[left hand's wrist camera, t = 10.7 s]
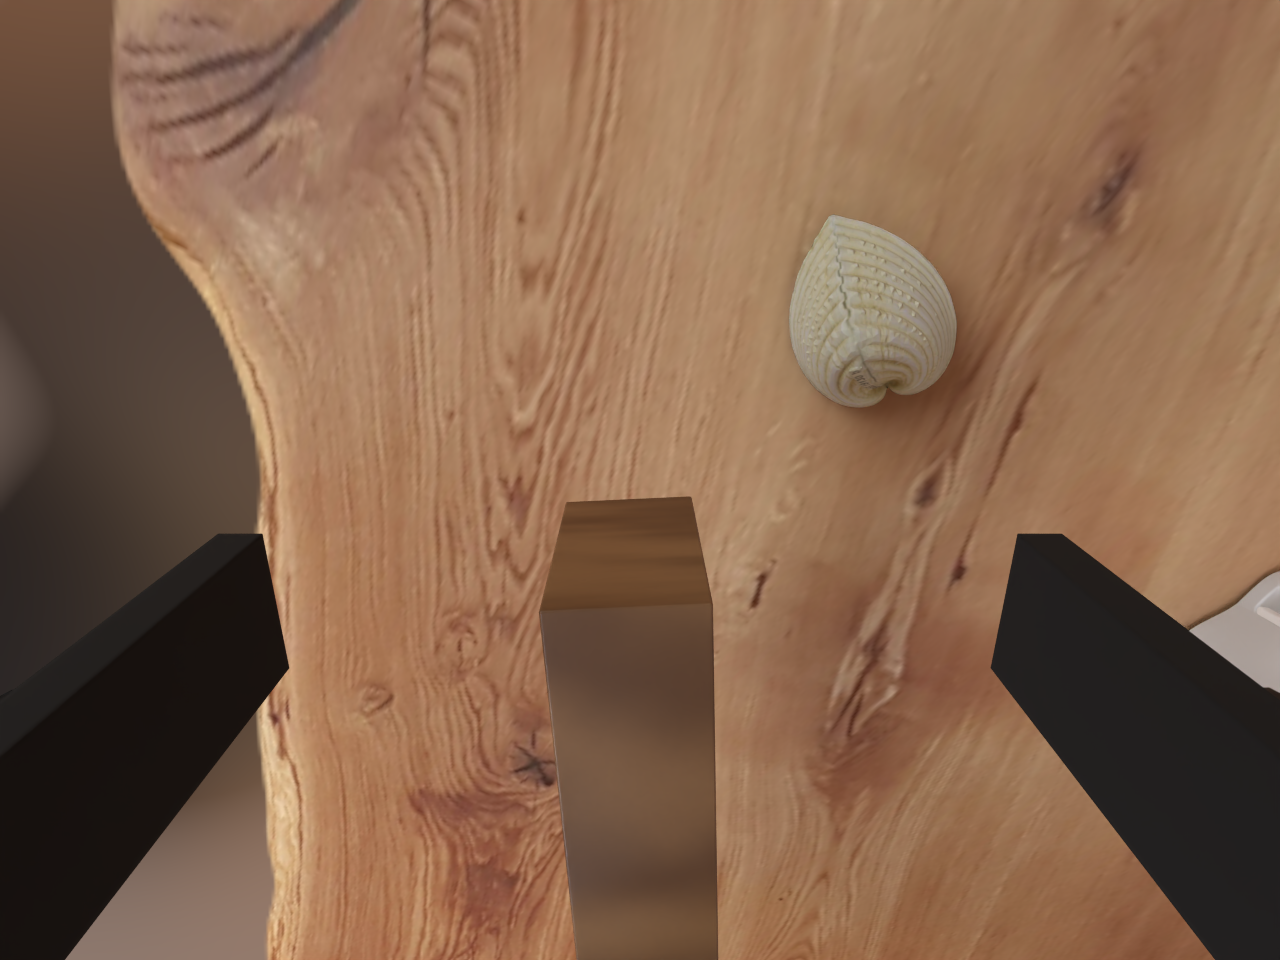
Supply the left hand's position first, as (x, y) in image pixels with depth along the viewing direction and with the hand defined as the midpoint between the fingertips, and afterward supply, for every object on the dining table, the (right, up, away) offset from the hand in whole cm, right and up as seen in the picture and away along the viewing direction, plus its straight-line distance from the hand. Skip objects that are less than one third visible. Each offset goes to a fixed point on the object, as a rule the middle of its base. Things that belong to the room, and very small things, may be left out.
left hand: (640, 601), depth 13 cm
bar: (0, -11, +19) cm, 22 cm away
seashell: (+12, +11, +26) cm, 31 cm away
